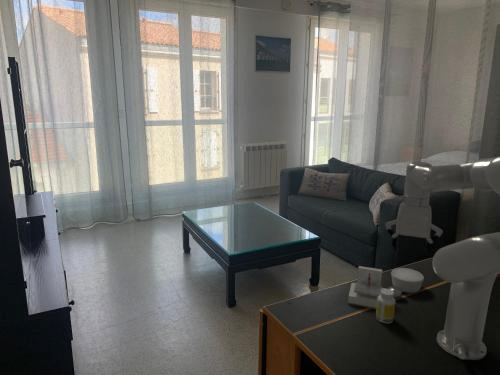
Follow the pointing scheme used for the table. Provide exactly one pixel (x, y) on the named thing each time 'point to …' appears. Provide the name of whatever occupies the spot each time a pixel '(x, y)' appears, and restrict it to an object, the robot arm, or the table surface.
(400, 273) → the ramekin
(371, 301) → the scale housing
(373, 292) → the pan
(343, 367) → the table surface
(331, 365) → the table surface
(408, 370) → the table surface
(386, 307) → the supplement bottle
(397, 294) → the shiny gray ball
